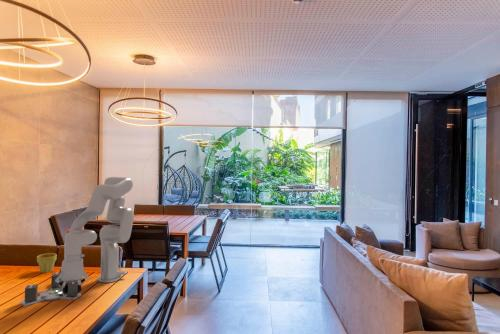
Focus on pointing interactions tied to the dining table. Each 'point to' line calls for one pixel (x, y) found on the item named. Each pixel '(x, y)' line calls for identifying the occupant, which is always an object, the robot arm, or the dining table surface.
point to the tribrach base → (51, 296)
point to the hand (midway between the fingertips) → (72, 292)
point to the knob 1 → (31, 293)
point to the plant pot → (46, 262)
